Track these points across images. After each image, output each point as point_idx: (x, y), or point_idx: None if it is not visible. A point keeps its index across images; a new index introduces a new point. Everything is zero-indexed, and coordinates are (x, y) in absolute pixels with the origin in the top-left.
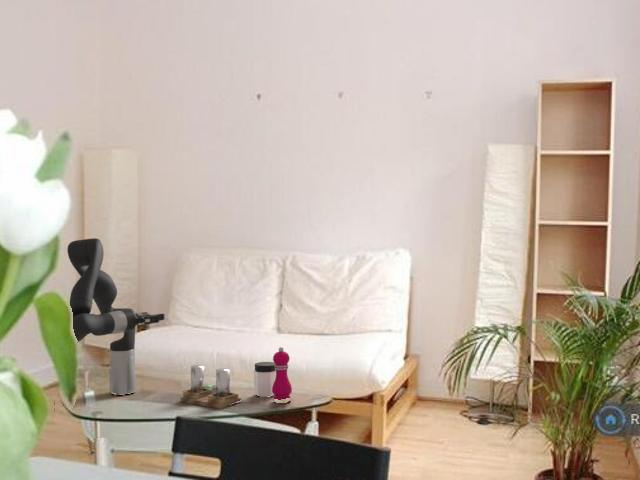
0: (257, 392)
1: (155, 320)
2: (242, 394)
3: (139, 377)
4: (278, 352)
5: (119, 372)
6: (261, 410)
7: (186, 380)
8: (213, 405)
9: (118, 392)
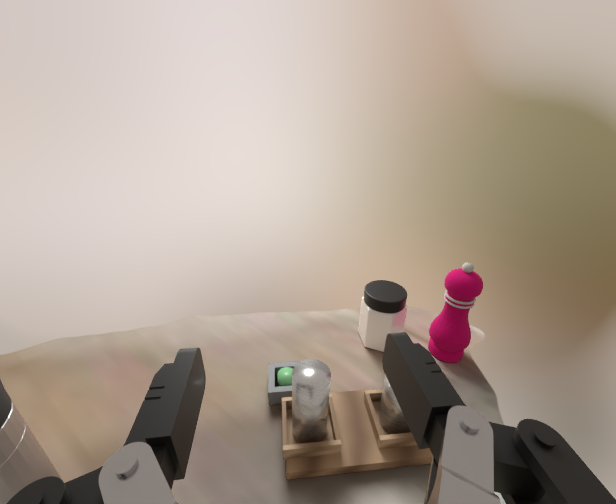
0: (383, 345)
1: (524, 495)
2: (343, 354)
3: (14, 376)
4: (470, 276)
5: None
6: (499, 412)
7: (157, 343)
8: (412, 462)
9: None
